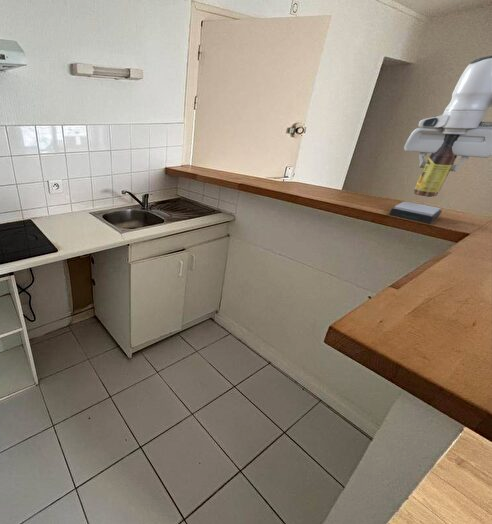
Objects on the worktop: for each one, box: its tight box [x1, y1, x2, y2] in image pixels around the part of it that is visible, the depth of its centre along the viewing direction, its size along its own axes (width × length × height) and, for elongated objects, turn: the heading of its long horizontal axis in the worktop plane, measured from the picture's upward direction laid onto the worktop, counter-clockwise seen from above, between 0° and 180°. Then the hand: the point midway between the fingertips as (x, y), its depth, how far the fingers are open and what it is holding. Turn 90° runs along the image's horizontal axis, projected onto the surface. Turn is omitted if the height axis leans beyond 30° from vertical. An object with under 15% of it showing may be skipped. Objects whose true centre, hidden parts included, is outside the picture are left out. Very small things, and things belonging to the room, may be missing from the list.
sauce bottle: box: [413, 134, 460, 198], centre depth 90 cm, size 7×6×20 cm
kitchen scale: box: [389, 200, 443, 225], centre depth 97 cm, size 11×11×3 cm
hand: (436, 169), depth 90 cm, fingers closed on sauce bottle, 6 cm apart
